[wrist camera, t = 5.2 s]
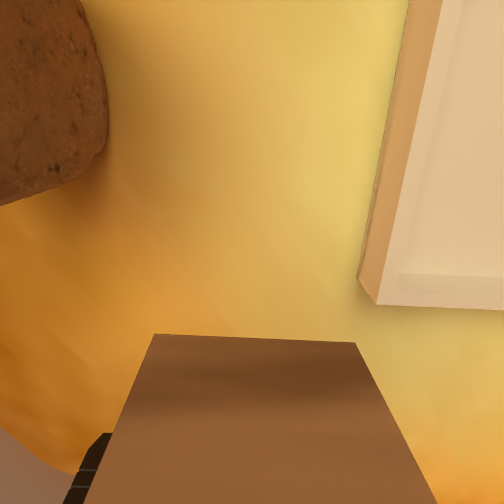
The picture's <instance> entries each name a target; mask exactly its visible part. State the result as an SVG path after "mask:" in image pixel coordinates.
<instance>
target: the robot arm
mask: <svg viewBox="0 0 504 504" xmlns="http://www.w3.org/2000/svg"><path fill="white" fill-rule="evenodd" d="M112 434H113V433H103V434H102V435H101V436H100V437H99V438H98V439H97V440H96V441H95V442H94V444H93V445H92V446H91V447H90V448H89V449H88V451H87V453H86V455H85V457H84V459H83V462H82V464H81V466H80V468H79V472H77V474H76V476H75V479H74V481H73V483H72V486H71V489H69V491H68V494H67V496H66V498H65V500H64V502H63V504H83V503H84V501H85V498H86V496H87V493H88V491H89V489H90V486H91V484H92V482H93V479H94V477H95V474H96V472H97V470H98V467H99V465H100V462H101V460H102V458H103V455H104V453H105V451H106V448H107V446H108V443H109V441H110V439H111V436H112Z"/></svg>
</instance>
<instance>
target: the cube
mask: <svg viewBox="0 0 504 504" xmlns="http://www.w3.org/2000/svg"><path fill="white" fill-rule="evenodd" d="M83 504H438V503H437V501H436V499H435V497H434V496H433V494H432V492H431V490H430V488H429V486H428V484H427V482H426V480H425V478H424V476H423V474H422V472H421V470H420V468H419V466H418V464H417V462H416V461H415V459H414V457H413V455H412V453H411V451H410V449H409V447H408V445H407V443H406V441H405V439H404V437H403V435H402V433H401V431H400V429H399V427H398V426H397V424H396V422H395V420H394V418H393V416H392V414H391V412H390V410H389V408H388V406H387V404H386V402H385V400H384V398H383V396H382V394H381V392H380V391H379V389H378V387H377V385H376V383H375V381H374V379H373V377H372V375H371V373H370V371H369V369H368V367H367V365H366V363H365V361H364V359H363V357H362V356H361V354H360V352H359V350H358V348H357V346H356V344H355V343H350V342H328V341H306V340H283V339H261V338H238V337H216V336H193V335H171V334H154V336H153V338H152V341H151V343H150V346H149V348H148V350H147V353H146V355H145V358H144V360H143V362H142V365H141V367H140V369H139V372H138V374H137V377H136V379H135V381H134V384H133V386H132V389H131V391H130V393H129V396H128V398H127V400H126V403H125V405H124V408H123V410H122V412H121V415H120V417H119V420H118V422H117V424H116V427H115V429H114V431H113V434H112V436H111V439H110V441H109V443H108V446H107V448H106V451H105V453H104V455H103V458H102V460H101V462H100V465H99V467H98V470H97V472H96V474H95V477H94V479H93V482H92V484H91V486H90V489H89V491H88V493H87V496H86V498H85V501H84V503H83Z"/></svg>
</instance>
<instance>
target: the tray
mask: <svg viewBox="0 0 504 504" xmlns="http://www.w3.org/2000/svg"><path fill="white" fill-rule="evenodd" d="M357 280H358V281H359V282H360V284H361V285H362V286H363V288H364V289H365V290H366V292H367V293H368V294H369V296H370V297H371V298H372V300H373V301H374V303H375V304H376V305H397V306H419V307H441V308H464V309H486V310H504V0H410V1H409V7H408V12H407V17H406V22H405V27H404V33H403V38H402V43H401V48H400V54H399V59H398V64H397V69H396V74H395V80H394V85H393V90H392V95H391V101H390V106H389V111H388V116H387V121H386V127H385V132H384V137H383V142H382V148H381V153H380V158H379V163H378V168H377V174H376V179H375V184H374V189H373V195H372V200H371V205H370V210H369V216H368V221H367V226H366V231H365V236H364V242H363V247H362V252H361V257H360V263H359V268H358V273H357Z"/></svg>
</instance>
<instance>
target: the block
mask: <svg viewBox="0 0 504 504" xmlns="http://www.w3.org/2000/svg"><path fill="white" fill-rule="evenodd" d="M107 132H108V109H107V90H106V85H105V80H104V76H103V70H102V65H101V63H100V61H99V59H98V57H97V55H96V44H95V41H94V38H93V35H92V32H91V29H90V26H89V23H88V21H87V18H86V16H85V11H84V9H83V6H82V4H81V2H80V0H0V206H2V205H5V204H8V203H11V202H14V201H17V200H20V199H22V198H26V197H30V196H32V195H35V194H38V193H41V192H43V191H46V190H49V189H52V188H54V187H57V186H58V185H60V184H62V183H65V182H67V181H70V180H72V179H75V178H77V177H79V176H80V175H82V174H83V173H84V172H86V170H87V169H88V167H89V166H90V164H91V162H92V159H93V157H94V155H96V154H98V153H100V152H101V151H102V149H103V147H104V145H105V143H106V140H107Z"/></svg>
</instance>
